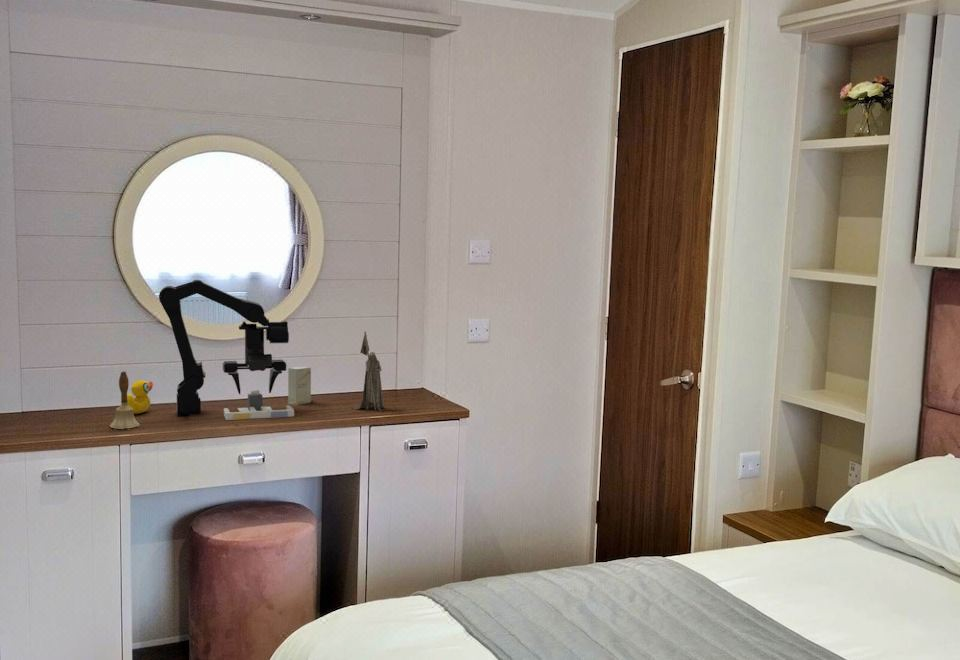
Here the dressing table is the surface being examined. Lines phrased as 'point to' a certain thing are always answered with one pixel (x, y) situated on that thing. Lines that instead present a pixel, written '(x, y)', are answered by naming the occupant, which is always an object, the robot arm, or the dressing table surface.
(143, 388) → the duckling
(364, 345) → the wizard figurine
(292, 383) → the skincare box
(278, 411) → the socket board
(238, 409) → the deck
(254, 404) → the plug
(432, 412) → the dressing table surface
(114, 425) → the hand bell
